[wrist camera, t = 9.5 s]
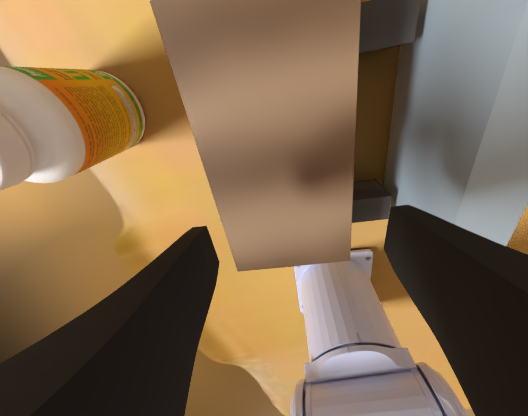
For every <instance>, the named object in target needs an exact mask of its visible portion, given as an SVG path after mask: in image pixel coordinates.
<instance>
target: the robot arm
mask: <svg viewBox="0 0 528 416" xmlns="http://www.w3.org/2000/svg"><path fill="white" fill-rule="evenodd" d="M384 250H385V252H386V254H387V257H388V259H389V261H390V263H391V265H392V267H393V269H394V272H395V273H396V275H397V276H398V278H399V280H400V281H401V283H402V284H403V286H404V288H405V289H406V291H407V292H408V294H409V296H410V297H411V299H412V300H413V302H414V303H415V305H416V307H417V308H418V310H419V311H420V313H421V314H422V316H423V318H424V319H425V321H426V322H427V324H428V325H429V327H430V329H431V330H432V332H433V334H434V335H435V337H436V339H437V341H438V342H439V344H440V346H441V348H442V350H443V352H444V354H445V356H446V357H447V359H448V361H449V363H450V365H451V367H452V369H453V371H454V373H455V375H456V377H457V379H458V381H459V383H460V385H461V387H462V389H463V391H464V393H465V395H466V397H467V399H468V402H469V404H470V406H471V408H472V410H473V412H474V414H475V416H528V255H527V254H524V253H522V252H519V251H517V250H514V249H511V248H509V247H506V246H504V245H501V244H499V243H496V242H494V241H492V240H489V239H487V238H485V237H482V236H480V235H478V234H475V233H473V232H471V231H468V230H466V229H464V228H461V227H459V226H457V225H455V224H453V223H450V222H448V221H446V220H444V219H441V218H439V217H437V216H435V215H432V214H430V213H428V212H426V211H423V210H421V209H418V208H416V207H413V206H410V205H400V206H391V208H390V214H389V220H388V226H387V232H386V238H385V244H384ZM366 257H368V258H366ZM372 263H373V252H372V250H371V249H361V250H351V251H350V261H345V262H335V263H324V264H313V265H302V266H294V270H295V277H296V284H297V292H298V299H299V306H300V312H301V313H303V314H304V319H305V327H306V335H307V343H308V351H309V359H310V363H305V364H304V368H305V378H306V379H301V380H299V381H298V383H297V385H296V388H295V391H294V393H293V395H292V399H291V408H290V416H468V415H467V413H466V411H465V409H464V408H463V406H462V404H461V403H460V401H459V399H458V398H457V396H456V395H455V393H454V391H453V390H452V388H451V387H450V386H449V384H448V383H447V381H446V380H445V379H444V378H443V376H442V375H441V374H440V373H438V372H437V371H435V370H434V369H432V368H431V367H430V366H429V365H427V364H426V363H423V362H421V363H416V364H415V363H414V361H413V359H412V357H411V355H410V353H409V351H408V349H407V348H402V347H401V345H400V342H399V340H398V338H397V336H396V334H395V332H394V330H393V328H392V326H391V323H390V321H389V319H388V317H387V315H386V313H385V311H384V309H383V307H382V304H381V302H380V300H379V298H378V296H377V294H376V292H375V290H374V288H373V286H372V283H371V281H370V280H371V272H372ZM218 268H219V260H218V257H217V254H216V251H215V248H214V246H213V243H212V240H211V237H210V234H209V231H208V229H207V226H202V227H193V228H191V229H190V230H189V231H187V232H186V233H185V234H184V235H182V236H181V237H180V238H179V239H178V240H177V241H175V242H174V243H173V244H172V245H171V246H170V247H169V248H167V249H166V250H165V251H164V252H163V253H162V254H160V255H159V256H158V257H157V258H156V259H155V260H153V261H152V262H151V263H150V264H149V265H147V266H146V267H145V268H144V269H142V270H141V271H140V272H139V273H138V274H136V275H135V276H134V277H133V278H131V279H130V280H129V281H128V282H126V283H125V284H124V285H123V286H121V287H120V288H118V289H117V290H116V291H114V292H113V293H112V294H110V295H109V296H108V297H106V298H105V299H103V300H102V301H100V302H99V303H98V304H96V305H95V306H93V307H92V308H90V309H89V310H87V311H86V312H85V313H83V314H81V315H80V316H78V317H77V318H75V319H73V320H72V321H70V322H69V323H67V324H66V325H64V326H62V327H61V328H59V329H58V330H56V331H54V332H53V333H51V334H50V335H48V336H47V337H45V338H43V339H42V340H40V341H38V342H37V343H35V344H33V345H31V346H30V347H28V348H26V349H25V350H23V351H21V352H19V353H18V354H16V355H14V356H13V357H11V358H9V359H7V360H6V361H4V362H2V363H0V416H184V414H185V408H186V403H187V398H188V392H189V386H190V381H191V376H192V371H193V366H194V361H195V356H196V352H197V348H198V344H199V340H200V337H201V333H202V330H203V327H204V323H205V320H206V317H207V313H208V310H209V307H210V303H211V300H212V296H213V293H214V290H215V286H216V281H217V275H218Z"/></svg>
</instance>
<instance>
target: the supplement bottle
mask: <svg viewBox="0 0 528 416" xmlns="http://www.w3.org/2000/svg"><path fill="white" fill-rule="evenodd" d="M144 130H145V116H144V112H143V109H142V106H141V104H140V102H139V100H138V99H137V97H136V95H135V94H134V93H133V92H132V90H131V89H130V88H129V87H128V86H127V85H126V84H125V83H124V82H122V81H121V80H120V79H118V78H117V77H115V76H113V75H111V74H108V73H106V72H102V71H97V70H81V69H54V68H32V67H8V66H0V190H3V189H5V188H8V187H11V186H14V185H17V184H19V183H21V182H23V181H24V180H25V181H30V182H36V183H51V182H57V181H61V180H63V179H66V178H68V177H70V176H73V175H75V174H77V173H79V172H81V171H83V170H85V169H87V168H89V167H91V166H94V165H96V164H98V163H100V162H102V161H104V160H106V159H108V158H110V157H112V156H114V155H116V154H119V153H121V152H123V151H125V150H127V149H129V148H131V147H133V146H134V145H135V144H137V143H138V142H139V140H140V139H141V138H142V136H143V134H144Z"/></svg>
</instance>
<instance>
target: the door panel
mask: <svg viewBox="0 0 528 416" xmlns="http://www.w3.org/2000/svg"><path fill="white" fill-rule="evenodd" d="M384 188H385V189H386V190H387V191H388V192H389V193H390V194H391V195H392V198H391V205H390V208H391V206H400V205H410V206H413V207H416V208H418V209H421V210H423V211H426V212H428V213H430V214H432V215H435V216H437V217H439V218H441V219H444V220H446V221H448V222H450V223H453V224H455V225H457V226H459V227H461V228H464V229H466V230H468V231H471V232H473V233H475V234H478V235H480V236H482V237H485V238H487V239H489V240H492V241H494V242H496V243H499V244H501V245H504V246H507V244H508V242H509V240H510V238H511V236H512V234H513V232H514V230H515V228H516V226H517V224H518V222H519V220H520V218H521V216H522V214H523V212H524V210H525V209H526V207H527V205H528V0H420V4H419V11H418V18H417V25H416V32H415V39H414V42H411V43H407V44H404V45H400V52H399V60H398V68H397V77H396V85H395V94H394V102H393V111H392V119H391V128H390V136H389V144H388V153H387V161H386V170H385V178H384Z"/></svg>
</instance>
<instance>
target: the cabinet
mask: <svg viewBox="0 0 528 416" xmlns="http://www.w3.org/2000/svg"><path fill="white" fill-rule="evenodd" d="M150 3H151V6H152V10H153V13H154V16H155V19H156V22H157V25H158V28H159V31H160V34H161V37H162V40H163V43H164V46H165V49H166V53H167V56H168V59H169V62H170V65H171V68H172V71H173V74H174V77H175V80H176V83H177V86H178V89H179V92H180V96H181V99H182V102H183V105H184V108H185V111H186V114H187V117H188V120H189V123H190V126H191V129H192V132H193V135H194V139H195V142H196V145H197V148H198V151H199V154H200V157H201V160H202V163H203V166H204V169H205V172H206V175H207V178H208V182H209V185H210V188H211V191H212V194H213V197H214V200H215V203H216V206H217V209H218V212H219V215H220V218H221V221H222V225H223V228H224V231H225V234H226V237H227V240H228V243H229V246H230V249H231V252H232V255H233V258H234V261H235V264H236V268H237V271H248V270H259V269H269V268H280V267H291V266H302V265H313V264H324V263H335V262H345V261H350V250H351V226H352V223H355V222H364V221H373V220H381V219H389V212H390V205H391V198H392V195H391V194H390V193H389V192H388V191H387V190H386V189H385V188H384V187H383V186H382V185H381V184H380V183H379V182H378V181H377V180H376V179H373V180H365V181H358V182H353V178H354V154H355V130H356V106H357V82H358V58H359V54H363V53H368V52H373V51H378V50H383V49H388V48H392V47H396V46H400V45H404V44H407V43H411V42H414V39H415V32H416V25H417V18H418V11H419V4H420V0H371V1H367V2H362V3H361V0H151V1H150Z"/></svg>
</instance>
